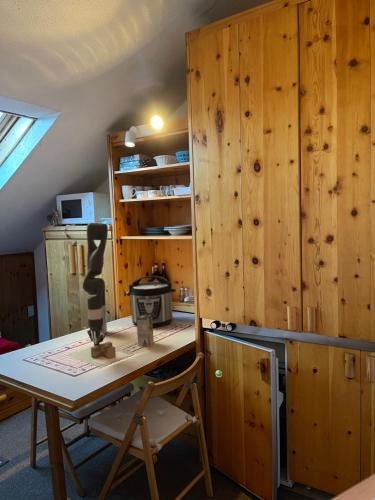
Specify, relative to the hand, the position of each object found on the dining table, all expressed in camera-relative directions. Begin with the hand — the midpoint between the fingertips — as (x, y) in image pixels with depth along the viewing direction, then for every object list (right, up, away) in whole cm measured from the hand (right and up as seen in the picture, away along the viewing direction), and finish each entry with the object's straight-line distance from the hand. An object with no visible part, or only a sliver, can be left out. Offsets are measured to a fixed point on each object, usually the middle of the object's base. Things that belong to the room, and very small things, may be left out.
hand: (97, 349), depth 196 cm
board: (+2, -3, -1) cm, 4 cm away
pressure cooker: (+23, +2, +58) cm, 62 cm away
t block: (+6, -2, -5) cm, 8 cm away
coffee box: (+24, -1, +13) cm, 27 cm away
